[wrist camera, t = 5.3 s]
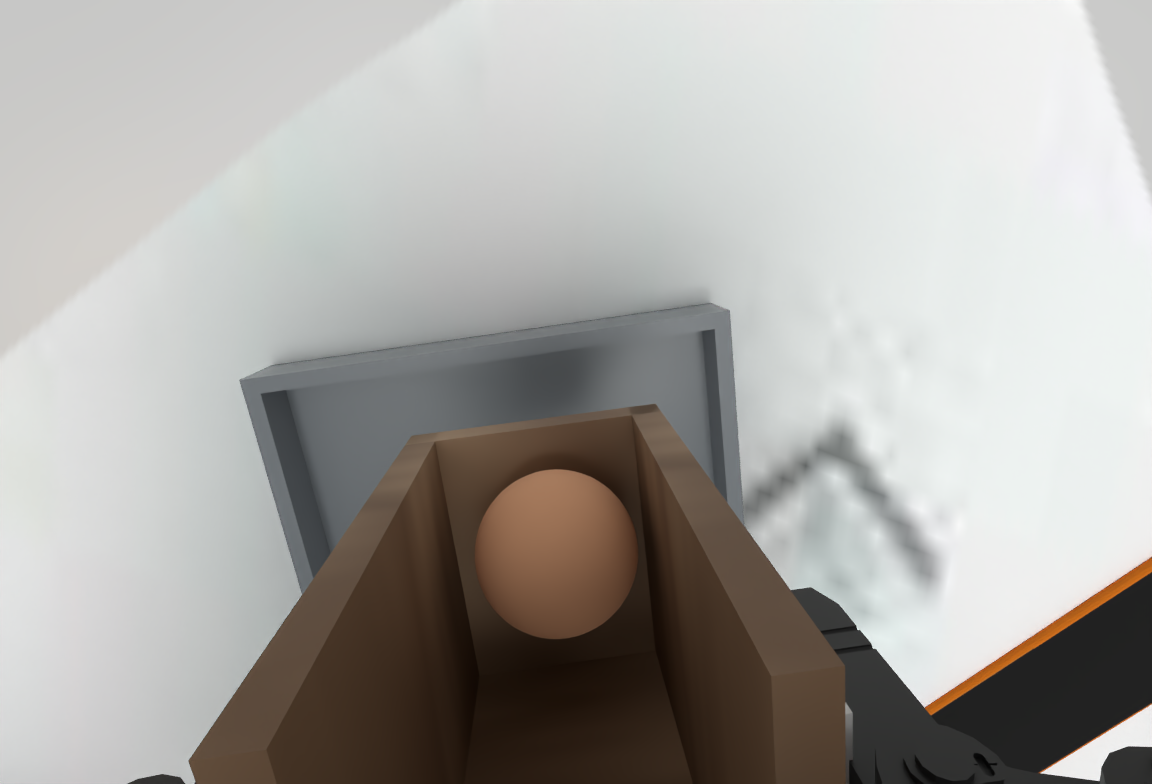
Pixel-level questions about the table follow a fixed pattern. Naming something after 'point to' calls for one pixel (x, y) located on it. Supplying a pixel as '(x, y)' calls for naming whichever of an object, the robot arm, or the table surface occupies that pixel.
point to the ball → (556, 554)
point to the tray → (482, 406)
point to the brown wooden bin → (538, 639)
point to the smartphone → (1062, 680)
